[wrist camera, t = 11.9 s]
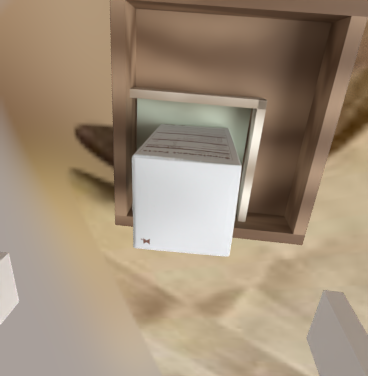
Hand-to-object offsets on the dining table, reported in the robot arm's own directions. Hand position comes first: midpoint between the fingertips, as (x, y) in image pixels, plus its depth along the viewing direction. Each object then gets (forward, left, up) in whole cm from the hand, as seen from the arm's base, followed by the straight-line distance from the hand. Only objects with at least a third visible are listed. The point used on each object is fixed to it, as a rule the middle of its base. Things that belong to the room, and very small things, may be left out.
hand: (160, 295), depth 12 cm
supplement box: (0, 0, -21) cm, 21 cm away
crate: (-4, +3, -21) cm, 22 cm away
